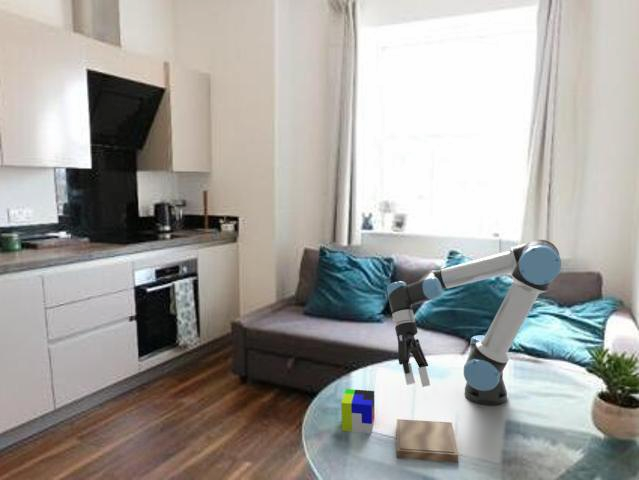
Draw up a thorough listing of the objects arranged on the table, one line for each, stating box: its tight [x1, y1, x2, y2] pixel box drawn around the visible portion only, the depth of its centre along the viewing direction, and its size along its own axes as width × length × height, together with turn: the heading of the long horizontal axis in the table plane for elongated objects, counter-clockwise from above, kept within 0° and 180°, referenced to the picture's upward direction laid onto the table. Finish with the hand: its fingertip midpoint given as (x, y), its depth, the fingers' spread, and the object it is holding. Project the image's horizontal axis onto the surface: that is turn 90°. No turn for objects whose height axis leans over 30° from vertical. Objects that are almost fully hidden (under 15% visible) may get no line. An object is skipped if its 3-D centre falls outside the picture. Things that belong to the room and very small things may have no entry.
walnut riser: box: [396, 418, 459, 464], centre depth 151 cm, size 18×18×3 cm
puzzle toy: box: [340, 388, 375, 434], centre depth 163 cm, size 10×10×10 cm
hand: (418, 385), depth 162 cm, fingers open, 13 cm apart
